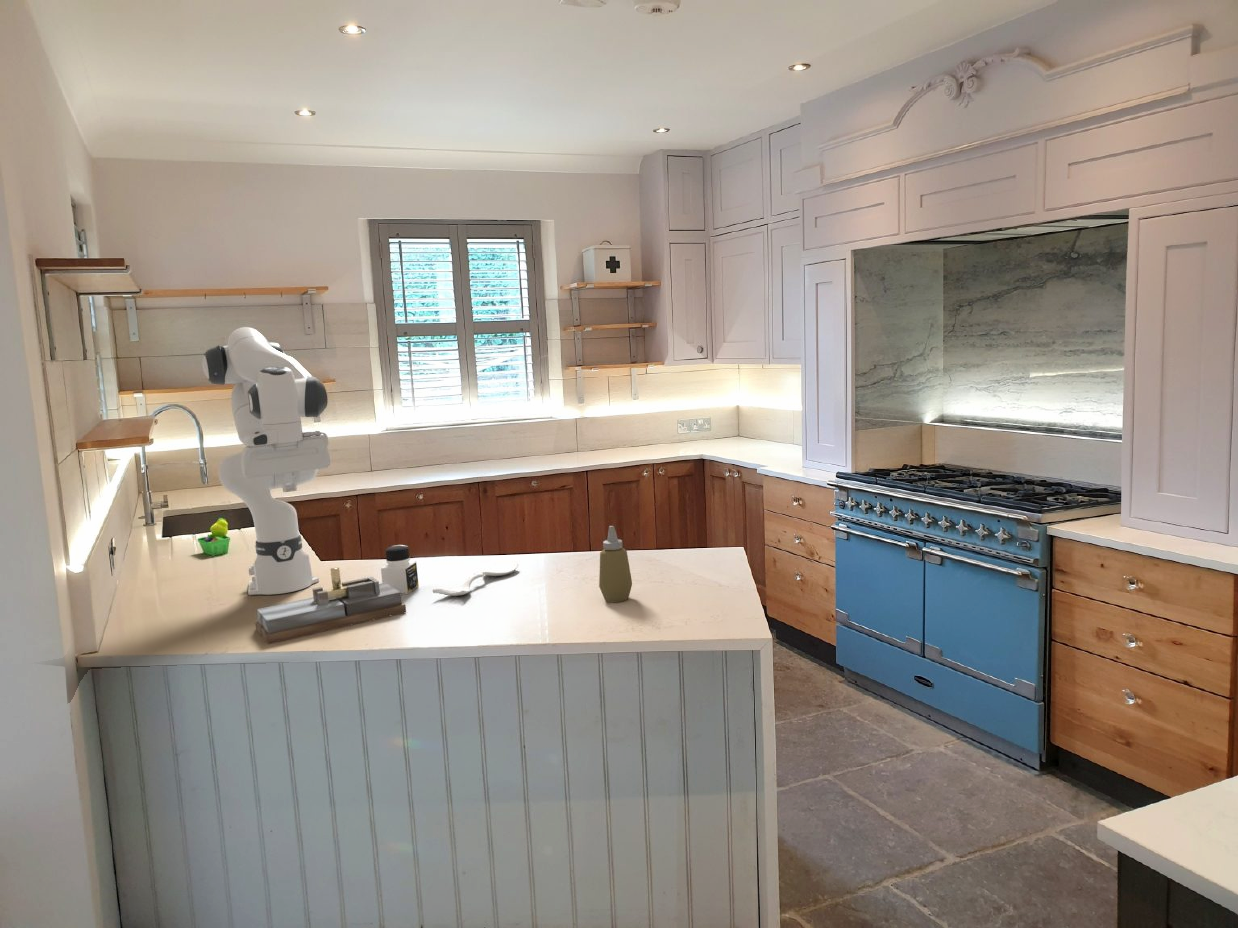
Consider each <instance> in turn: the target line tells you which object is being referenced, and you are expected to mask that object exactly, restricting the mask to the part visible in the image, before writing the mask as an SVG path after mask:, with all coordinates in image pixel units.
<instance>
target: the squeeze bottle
mask: <svg viewBox="0 0 1238 928" xmlns="http://www.w3.org/2000/svg"><path fill="white" fill-rule="evenodd" d="M602 546H603V547H602V548H603V549H602V550H601V551H600V553H599V583H598V585H599V586H598V587H599V589H600V591H601V594H602V596H603V598H604V601H606V602H610V603H611V602H612V603H619V602H623V601H627V600H628V599H629V598H630V595H631V594H630V593H631V591H632V586H633V580H632V574H631V569H630V562H629V556H628V551H627V550H626V549H625V548H623V546H624V545H623V540H622V539H620V538H619V539H618V535H617V531H616V529H615V526H614V525H609V526H608V533H607V539H605V540H604V541H603V542H602Z"/></svg>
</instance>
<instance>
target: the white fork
mask: <svg viewBox="0 0 1238 928" xmlns="http://www.w3.org/2000/svg"><path fill="white" fill-rule="evenodd" d="M518 566H519V564H518V562H515V561H512V560H505V561H499V562H497V563H495V564H492V565H490V566H488V567H487V568H485V569H483V570H482V571H480V572H477V573H474V574H473V575H472V576H471V577H469V578H468V579H467V580H466V581H465V583H463V584H462V585H460V586H459V587H455V588H448V589H442V588H434V589H432V593H433V594H439V595H444V596H453V597H455V596H456V597H457V596H460V597H461V596H463V595H466V594H468V593H470V592H471V591H472V590H471V589H470V587H471V584H472V583H473V582H474V581H475V580H477V579H479V578H483V577H484V576H488V577H489V576H491V577H502V576H505V575H506V576H507V575H510V574H511V573H512V572H514V571H516V569H517V568H518Z"/></svg>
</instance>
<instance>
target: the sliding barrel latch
mask: <svg viewBox="0 0 1238 928" xmlns="http://www.w3.org/2000/svg"><path fill="white" fill-rule="evenodd" d="M379 581H380V580H377V579H375V578H373V577H372V576H368V577H363V578H358V579H352V580H349V581H348V580H347V581H343V582H342V581H341V587H343V586H347V593H348V596H345V597H340V598H335V599H330V600H328V592H327V591H326V590H327V589H323V587H322V586H319V587H313V588H312V596H313V597H310V598H304V599H300V600H295V601H290V602H285V603H281V604H276V605H271V606H266V607H260V608H256V616H257V620H255V621H254V623H255V628H256V631H257V632H258V633H259V635H260V636H262V638H263V639H264V640H265V642H267V644H274V643H277V642H278V643H279V642H282V641H286V640H291V639H296V638H299V637H304V636H305V637H306V636H309V635H312V634H317V633H321V632H325V631H331V630H334V628H336V629H339V628H343V627H344V628H345V627H348V625H349V626H352V625H351V624H353V625H356V624H361V623H365V622H366V621H367V622H371V621H374V620H373V619H375V620H378V619H379V620H380V619H383V618H388V617H387V616H389V617H391V616H390V615H393V616H396V615H402V614H405V613H404V612H406V613H407V606H406V603H404V602H403V601H402V600H403V599H402V594H401V592H400V591H398V590H396V589H395V588H393V587H391V586H390V585H388V584H386V583H382V582H381V583H380V582H379ZM363 582H365V583H363ZM358 583H360V584H358ZM353 584H355V585H353ZM348 585H350V586H348ZM323 590H325V591H323ZM401 613H402V614H401ZM370 620H371V621H370Z"/></svg>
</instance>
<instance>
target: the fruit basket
mask: <svg viewBox="0 0 1238 928" xmlns="http://www.w3.org/2000/svg"><path fill="white" fill-rule="evenodd" d="M228 525H229V523H228V522H227V520H226V519H225V518H222V517H219V518H218V519H217V520H216V522H215V523H213V524H212V525H211V527H209V531H210V533H211V534H207V536H203V537H199V538H197V542H198V543H199V545H200V548H201V550H202V552H203V554H207V555H209V556H211V557H213V556H214V557H215V556H218V555H223V554H227V553H229V547H230V541H231V537H229V536H227V534H228V531H229V528H228Z"/></svg>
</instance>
